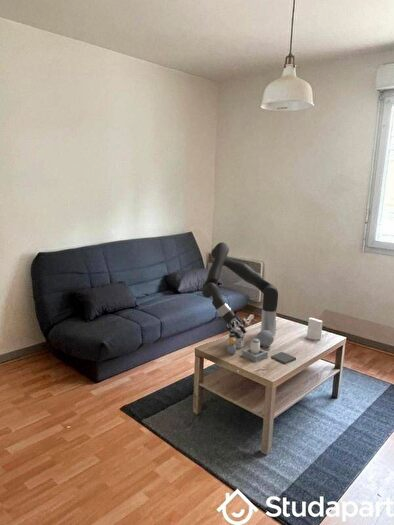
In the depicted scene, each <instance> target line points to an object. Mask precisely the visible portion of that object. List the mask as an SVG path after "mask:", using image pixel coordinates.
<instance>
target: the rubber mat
mask: <svg viewBox="0 0 394 525" xmlns="http://www.w3.org/2000/svg"><path fill="white" fill-rule="evenodd" d="M270 358H271V359H273V360H275V361H277V362H280V363H281V364H284V365H286V364H288V363H291V362H294V361H296V360H297V357H295V356H293V355H291V354H290V353H289V354H288V353H287V352H284V351H280V352H277V353H275V354H273V355H271V356H270Z"/></svg>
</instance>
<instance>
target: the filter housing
mask: <svg viewBox="0 0 394 525" xmlns="http://www.w3.org/2000/svg"><path fill="white" fill-rule="evenodd" d="M226 353H227V354H228V355H230V356H234V355H236V353H237V347H236V344H227V349H226ZM268 354H269V352H268V351H266V350H264V349H261V348H260V352H259V354H257V355H254V354H252V353H251V347H248V348H246V349H242V354H241V356H243V357H244V358H247V359H249V360H251V361H253V362H255V363H256V362H258V361H261V360H263V359H266V358H268V356H269V355H268Z"/></svg>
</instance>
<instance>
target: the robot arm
mask: <svg viewBox="0 0 394 525" xmlns="http://www.w3.org/2000/svg"><path fill="white" fill-rule="evenodd" d="M229 251H230V247H229V245H228V244H227V243H225V242H221V241H220V242H219V243H217V244H216V245H215V246H214V248H213V249H211V253H210V254H211V257H212V258H213V259H214V260H213V263H212V264H211V266H210V268H209V271H208V273H207V276H206V280H205V282H204V284H203V286H202V289H201V293H202V296H203V297H204V298H207V299H210V298H212V301H211V304H212V306H213V307H214V308H215V310H216V311H217V313H218V315H219V317H221V319H222V320H223V322H224V323H226V325H225V327H226V329H227V331H228V333H229V332H230V333H231V334H234V335H235V336H236V337H237V339H239V338H241V336H240V335H239V333H238V332H237V330H236V328H237V327H238V328H241V329H240V330H241V331H242V332H243V334H244V335H245V334H246V333H247V330H246V328H245V327H244V326H245V324H244V323H245V322H243V320H241V318H240V317H239V316H236V314H235V312H234V311H233V310H232V308H231V307H230V306H229V304H227V302H226V301H225V299H224V298H223V297H222V294H221V292H220V289H219V287H218V285H217V284H218V282H219V279H220V276H221V271H222V268H223V266H224V267H226V268H227V269H229V270H230V271H231V272H233V273H234V274H235V275H237V276H238V277H239V278H240V279H242V280H243V281H244V282H245V283H247V284H249V285H251V286H254V287H256V289H258V290H259V291H260V292H261V293H262V295H263V296H262V305H261V306H262V308H261V319H260V320H261V323H260V331H262V330H268V331H270V332H271V333H272V335H273V337H274V336H275V335H276V333H277V332H276V331H277V309H278V303H279V301H278V300H279V292H278V289H277V287H276V286H275V285H274V284H272V283H271V282H269V281H268V280H266V279H265V278H263V277H262V276H261V275H260V274H259V273H258V272H256V271H255V270H254V269H253V268H252V267H251V266H249V265H248V264H247V263H245V262H243V261H242V262H241V261H238V260H234V259H232V258H230V257H229V256H228V254H229ZM244 328H245V329H244ZM231 330H232V331H231ZM234 330H235V331H234Z"/></svg>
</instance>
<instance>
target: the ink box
mask: <svg viewBox="0 0 394 525" xmlns="http://www.w3.org/2000/svg"><path fill="white" fill-rule="evenodd" d="M240 329H241V328H238V327H237V328H236V330H237V332H238V333H239V335H240V336H241V338H239V339H237V337H236V336H235V335H234V334H231V333H230V332H229V331H228V339H229V338H230V337H233V338H235V339H236V342H235V344H236V348H239V349H242V348H243V347H244V345H245V334H243V332H242V331H241V330H240ZM244 329H245V330H246V328H245V327H244ZM231 331H232V330H231ZM234 331H235V330H234ZM227 343H228V344H229V341H228V342H227ZM228 344H227V345H228Z"/></svg>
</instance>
